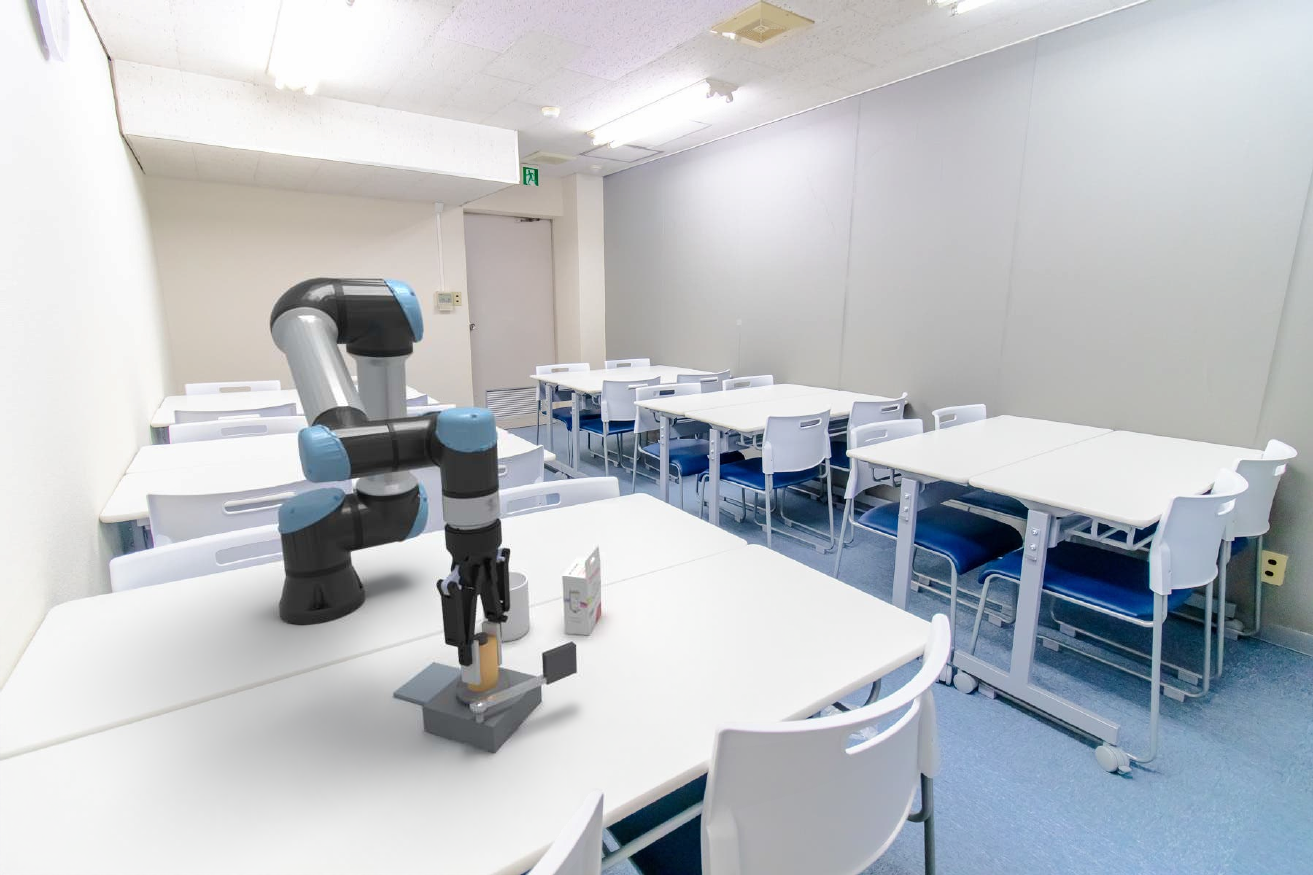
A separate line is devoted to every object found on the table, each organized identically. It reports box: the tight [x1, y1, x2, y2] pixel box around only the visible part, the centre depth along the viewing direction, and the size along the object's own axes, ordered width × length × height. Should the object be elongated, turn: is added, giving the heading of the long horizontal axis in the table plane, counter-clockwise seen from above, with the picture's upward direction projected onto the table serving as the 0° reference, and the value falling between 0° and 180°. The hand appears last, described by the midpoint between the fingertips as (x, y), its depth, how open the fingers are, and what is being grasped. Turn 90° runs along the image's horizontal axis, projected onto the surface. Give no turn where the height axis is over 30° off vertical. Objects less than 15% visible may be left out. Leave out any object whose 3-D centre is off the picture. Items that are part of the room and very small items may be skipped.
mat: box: [392, 661, 461, 706], centre depth 96 cm, size 9×9×1 cm
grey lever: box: [470, 641, 578, 715], centre depth 86 cm, size 2×16×5 cm, turn 129°
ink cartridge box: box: [561, 545, 602, 636], centre depth 114 cm, size 9×5×15 cm, turn 168°
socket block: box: [421, 666, 543, 754], centre depth 89 cm, size 12×12×5 cm
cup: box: [482, 570, 531, 643], centre depth 114 cm, size 8×12×10 cm
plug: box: [456, 631, 510, 705], centre depth 88 cm, size 8×8×13 cm
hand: (482, 671), depth 88 cm, fingers closed on plug, 4 cm apart
